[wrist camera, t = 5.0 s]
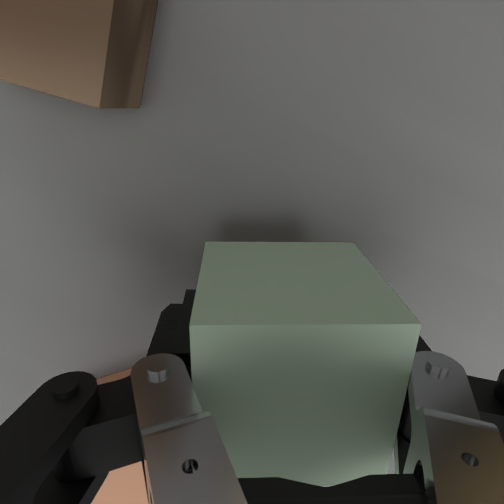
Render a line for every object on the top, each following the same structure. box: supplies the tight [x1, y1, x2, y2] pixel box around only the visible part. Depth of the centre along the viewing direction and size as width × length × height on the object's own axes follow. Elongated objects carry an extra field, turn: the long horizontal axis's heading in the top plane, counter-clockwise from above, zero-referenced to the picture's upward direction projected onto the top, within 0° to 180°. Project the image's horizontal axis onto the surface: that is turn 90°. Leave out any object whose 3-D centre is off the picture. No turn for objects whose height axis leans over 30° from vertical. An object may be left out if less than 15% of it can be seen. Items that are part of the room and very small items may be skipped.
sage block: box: [189, 242, 422, 486], centre depth 11 cm, size 5×5×5 cm
